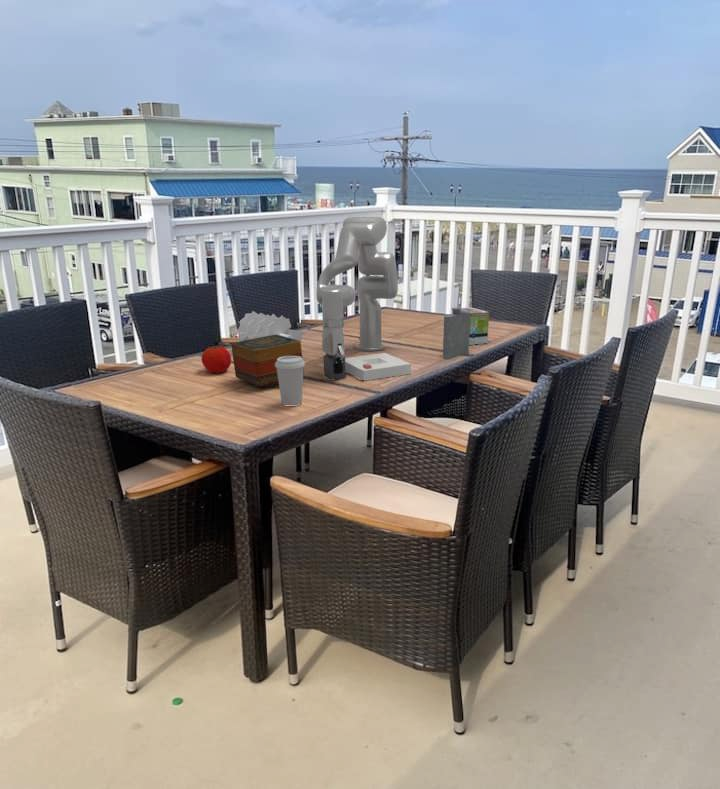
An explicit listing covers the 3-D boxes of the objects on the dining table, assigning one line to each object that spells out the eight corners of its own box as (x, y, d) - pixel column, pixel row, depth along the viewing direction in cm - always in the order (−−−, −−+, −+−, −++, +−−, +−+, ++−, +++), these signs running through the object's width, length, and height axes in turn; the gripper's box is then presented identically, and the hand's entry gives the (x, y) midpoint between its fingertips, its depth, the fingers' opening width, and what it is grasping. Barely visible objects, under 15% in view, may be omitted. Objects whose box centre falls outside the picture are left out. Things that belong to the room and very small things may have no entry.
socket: (340, 368, 237) (339, 356, 236) (384, 362, 246) (384, 350, 244) (363, 381, 220) (363, 368, 219) (410, 374, 229) (411, 361, 227)
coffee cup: (307, 398, 202) (305, 354, 197) (305, 408, 192) (304, 362, 188) (278, 399, 201) (276, 355, 197) (275, 408, 192) (272, 362, 188)
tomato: (229, 366, 243) (227, 341, 240) (234, 374, 232) (232, 348, 229) (200, 369, 239) (198, 343, 236) (204, 377, 228) (202, 350, 225)
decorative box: (307, 386, 218) (308, 341, 214) (248, 391, 207) (248, 342, 203) (284, 376, 235) (285, 333, 231) (229, 379, 224) (229, 335, 221)
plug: (324, 376, 227) (323, 355, 224) (338, 374, 230) (338, 353, 227) (330, 380, 222) (330, 358, 219) (345, 377, 224) (345, 356, 222)
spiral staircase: (282, 370, 252) (242, 358, 266) (309, 345, 261) (269, 335, 276) (267, 334, 240) (226, 324, 255) (295, 310, 249) (255, 301, 264)
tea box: (488, 343, 276) (490, 311, 271) (469, 345, 272) (470, 313, 268) (470, 337, 289) (472, 306, 285) (452, 339, 286) (453, 307, 281)
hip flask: (447, 359, 249) (449, 311, 243) (439, 357, 252) (440, 309, 246) (469, 352, 260) (472, 306, 254) (462, 351, 263) (463, 305, 257)
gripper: (314, 320, 225) (315, 367, 231) (333, 328, 211) (335, 378, 216) (332, 318, 228) (333, 364, 234) (353, 326, 214) (354, 375, 219)
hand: (334, 370), depth 225 cm, fingers closed on plug, 6 cm apart
